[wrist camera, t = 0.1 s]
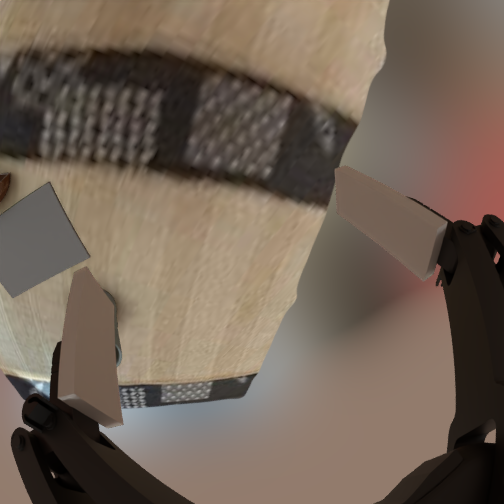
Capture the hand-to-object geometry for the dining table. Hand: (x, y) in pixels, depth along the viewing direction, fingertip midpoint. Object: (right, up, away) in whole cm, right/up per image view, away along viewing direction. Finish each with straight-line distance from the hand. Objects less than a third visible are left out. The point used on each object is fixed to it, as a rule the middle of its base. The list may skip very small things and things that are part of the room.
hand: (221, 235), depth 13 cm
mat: (-35, 0, +19) cm, 40 cm away
